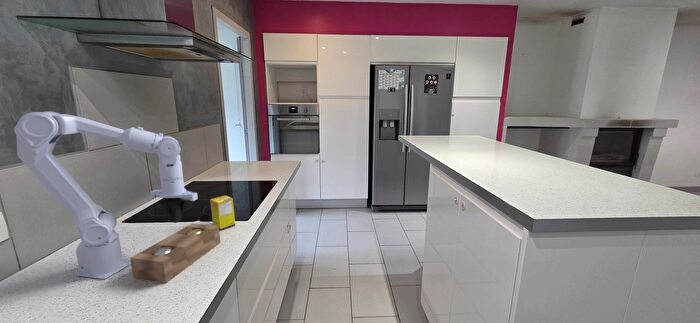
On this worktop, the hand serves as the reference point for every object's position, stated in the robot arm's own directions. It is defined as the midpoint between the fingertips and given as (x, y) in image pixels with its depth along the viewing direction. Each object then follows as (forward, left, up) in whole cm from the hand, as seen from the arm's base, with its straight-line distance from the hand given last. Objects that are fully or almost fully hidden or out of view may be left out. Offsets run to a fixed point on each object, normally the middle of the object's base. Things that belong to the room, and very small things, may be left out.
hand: (177, 221), depth 86 cm
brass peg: (+3, +3, -10) cm, 11 cm away
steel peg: (+3, -9, -10) cm, 14 cm away
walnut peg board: (+3, -3, -10) cm, 11 cm away
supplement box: (+1, +20, -11) cm, 22 cm away
